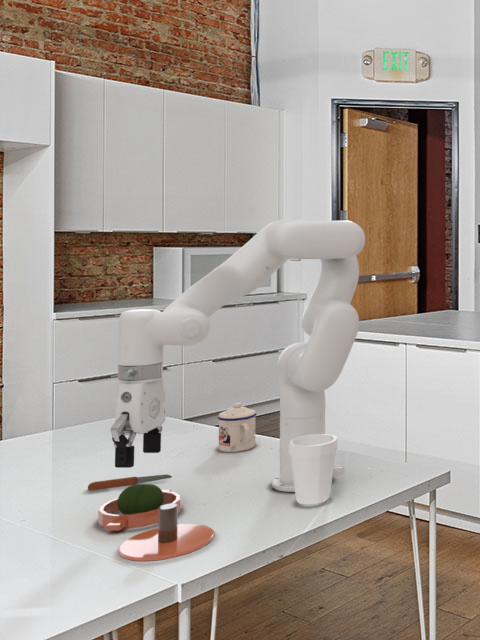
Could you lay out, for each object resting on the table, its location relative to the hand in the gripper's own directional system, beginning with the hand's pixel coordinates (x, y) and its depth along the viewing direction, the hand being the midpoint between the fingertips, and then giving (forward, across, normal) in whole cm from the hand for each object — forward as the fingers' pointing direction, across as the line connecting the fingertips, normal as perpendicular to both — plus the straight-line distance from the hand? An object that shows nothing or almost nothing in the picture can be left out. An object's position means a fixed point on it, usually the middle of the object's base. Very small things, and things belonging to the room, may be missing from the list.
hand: (138, 459), depth 144 cm
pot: (+12, 0, 0) cm, 12 cm away
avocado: (+11, 0, 0) cm, 11 cm away
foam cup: (+11, +7, -32) cm, 34 cm away
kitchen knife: (+12, +19, +12) cm, 25 cm away
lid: (+11, -14, -12) cm, 22 cm away
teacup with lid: (+11, +47, 0) cm, 49 cm away
